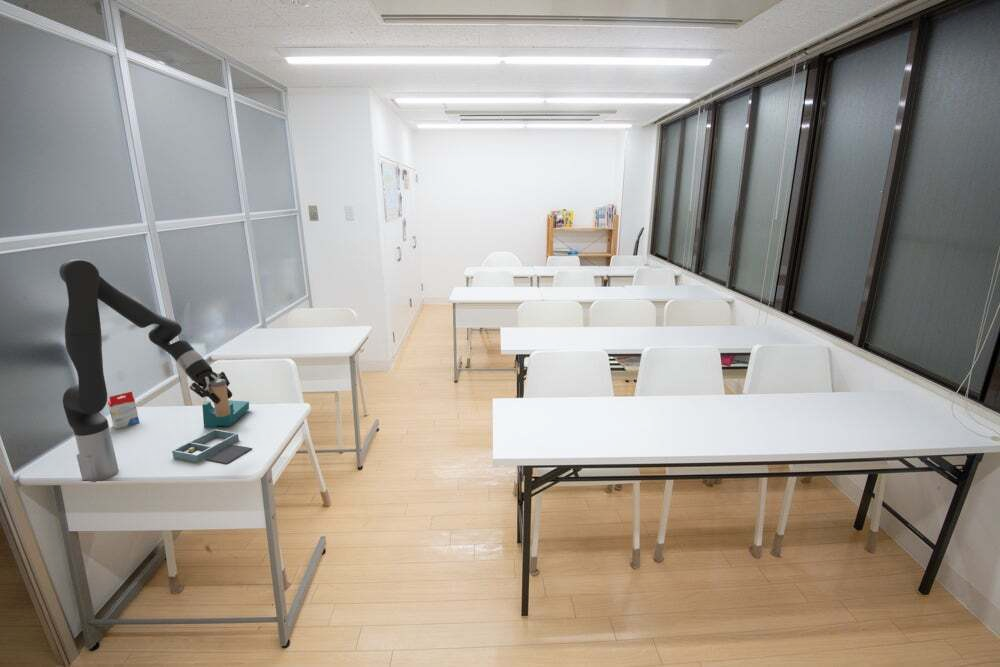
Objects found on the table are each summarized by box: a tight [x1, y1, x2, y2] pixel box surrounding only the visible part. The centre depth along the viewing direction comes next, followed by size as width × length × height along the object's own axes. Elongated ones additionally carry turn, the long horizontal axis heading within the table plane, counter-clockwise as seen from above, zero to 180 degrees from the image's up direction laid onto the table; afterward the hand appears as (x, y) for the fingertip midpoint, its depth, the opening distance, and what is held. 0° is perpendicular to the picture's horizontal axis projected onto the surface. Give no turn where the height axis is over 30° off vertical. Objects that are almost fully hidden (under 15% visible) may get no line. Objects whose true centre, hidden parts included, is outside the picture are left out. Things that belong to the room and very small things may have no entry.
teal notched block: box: [202, 399, 250, 429], centre depth 216 cm, size 18×11×10 cm, turn 2°
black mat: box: [205, 443, 253, 465], centre depth 186 cm, size 12×10×1 cm
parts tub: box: [171, 428, 240, 464], centre depth 190 cm, size 19×12×3 cm, turn 162°
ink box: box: [107, 391, 140, 430], centre depth 209 cm, size 8×5×15 cm, turn 139°
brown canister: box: [210, 378, 230, 417], centre depth 180 cm, size 5×5×13 cm
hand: (224, 399), depth 180 cm, fingers closed on brown canister, 4 cm apart
